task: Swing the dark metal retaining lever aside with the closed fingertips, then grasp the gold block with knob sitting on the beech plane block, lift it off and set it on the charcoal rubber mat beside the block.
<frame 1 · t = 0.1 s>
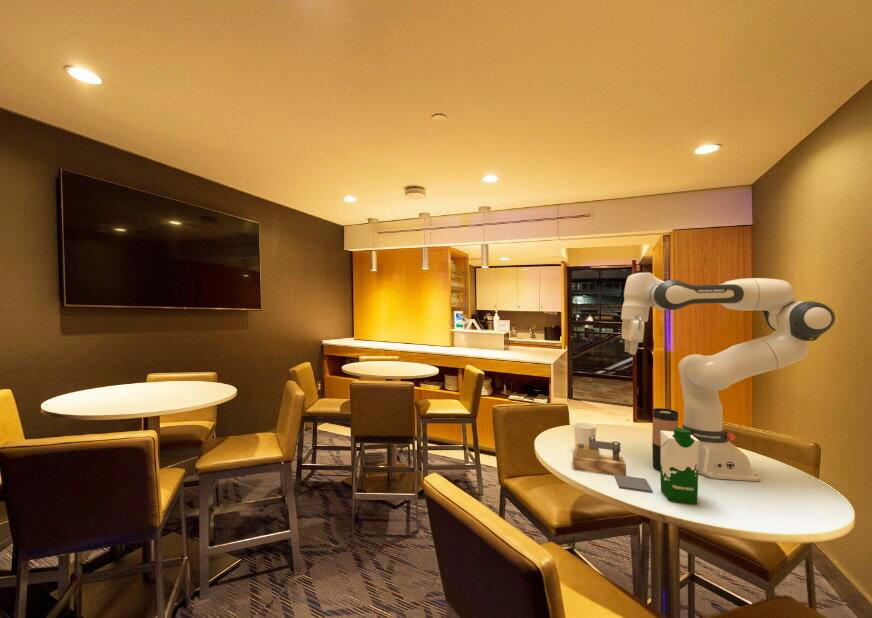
hand: (629, 353, 140), 39 cm above the table, tool pointing down, fingers open, 8 cm apart
milk carton: (678, 498, 110), on the table
lever: (604, 444, 129), point 9 cm above the table, hinge at 0.0°
white cup: (584, 451, 147), on the table
gold block with knob: (587, 456, 131), point 4 cm above the table, touching plane body
rubber mat: (632, 484, 118), on the table
plane body: (598, 469, 129), on the table
travel mug: (664, 469, 131), on the table
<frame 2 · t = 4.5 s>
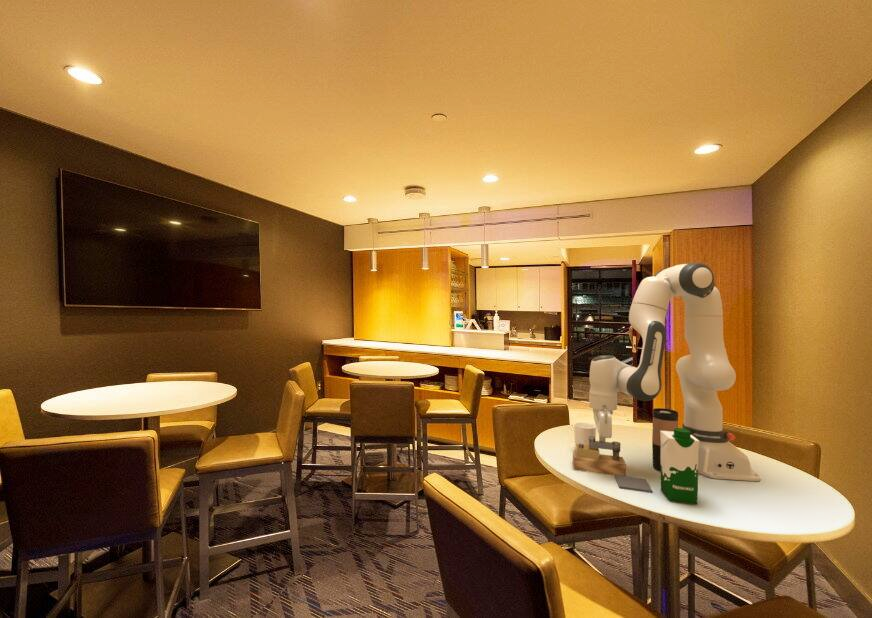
hand: (602, 443, 131), 8 cm above the table, tool pointing down, fingers closed, pressing on lever
lever: (604, 444, 129), point 9 cm above the table, hinge at 0.7°, touching gripper
everything else where it was.
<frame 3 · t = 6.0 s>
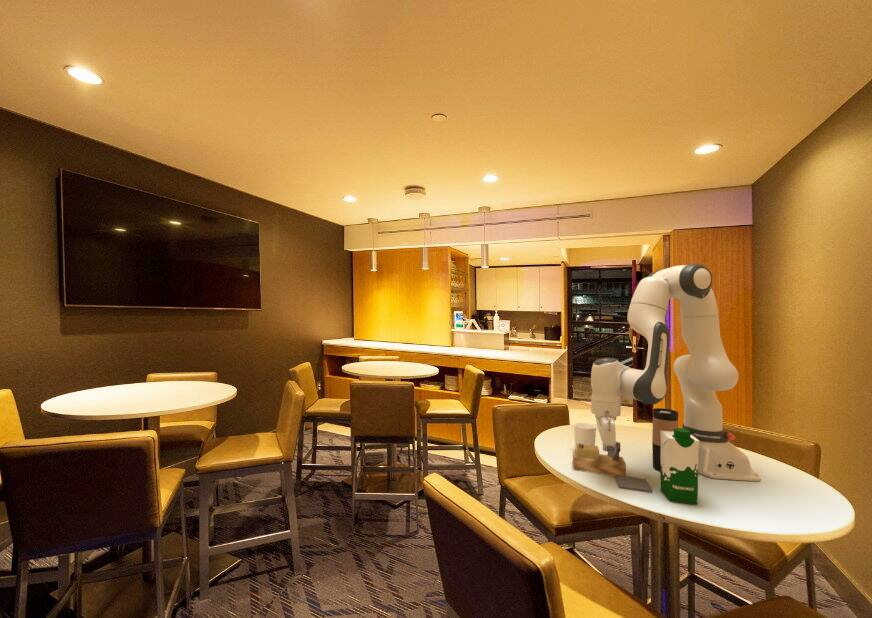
hand: (605, 450, 124), 8 cm above the table, tool pointing down, fingers closed, pressing on lever
lever: (613, 448, 125), point 9 cm above the table, hinge at 70.2°, touching gripper
everything else where it was.
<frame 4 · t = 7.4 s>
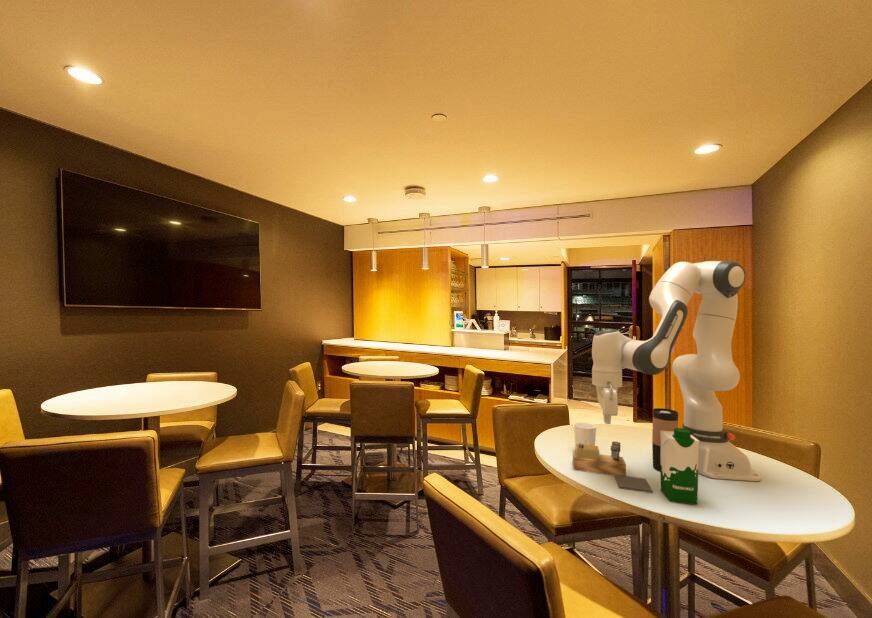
hand: (607, 422, 123), 18 cm above the table, tool pointing down, fingers closed
lever: (615, 448, 125), point 9 cm above the table, hinge at 77.3°
everything else where it was.
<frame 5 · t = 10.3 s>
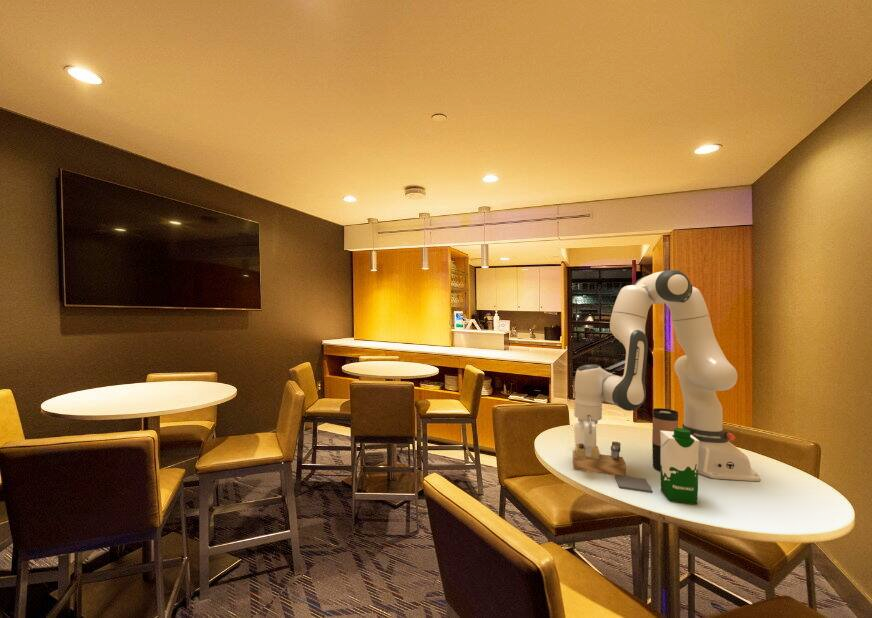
hand: (587, 452, 131), 5 cm above the table, tool pointing down, fingers closed on gold block with knob, 5 cm apart
gold block with knob: (587, 456, 131), point 4 cm above the table, touching gripper, plane body
everything else where it was.
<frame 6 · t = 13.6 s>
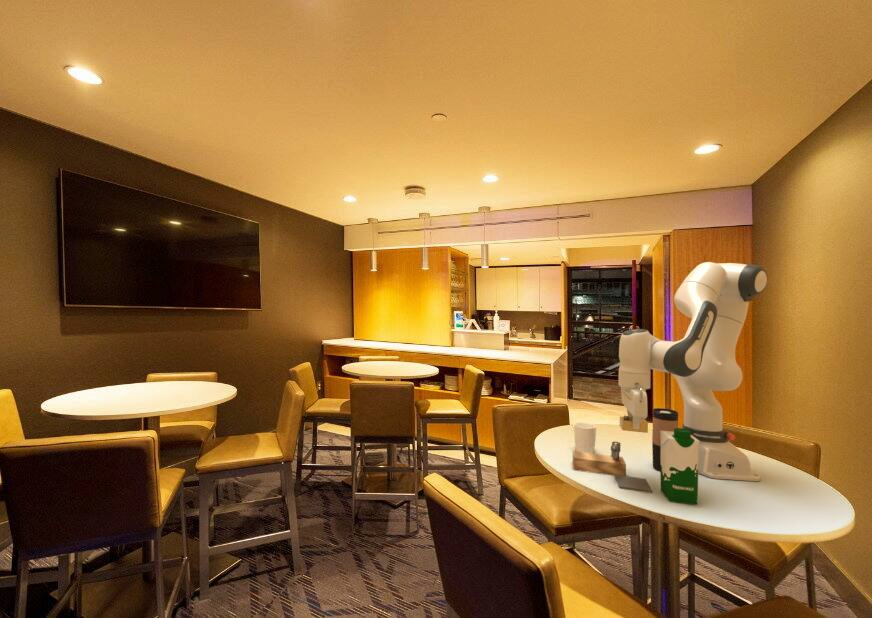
hand: (633, 425, 118), 18 cm above the table, tool pointing down, fingers closed on gold block with knob, 5 cm apart
gold block with knob: (633, 429, 118), point 17 cm above the table, touching gripper
everything else where it was.
when the fingers open (4 cm above the table, at t = 16.5 s): gold block with knob drops 2 cm, resting on rubber mat.
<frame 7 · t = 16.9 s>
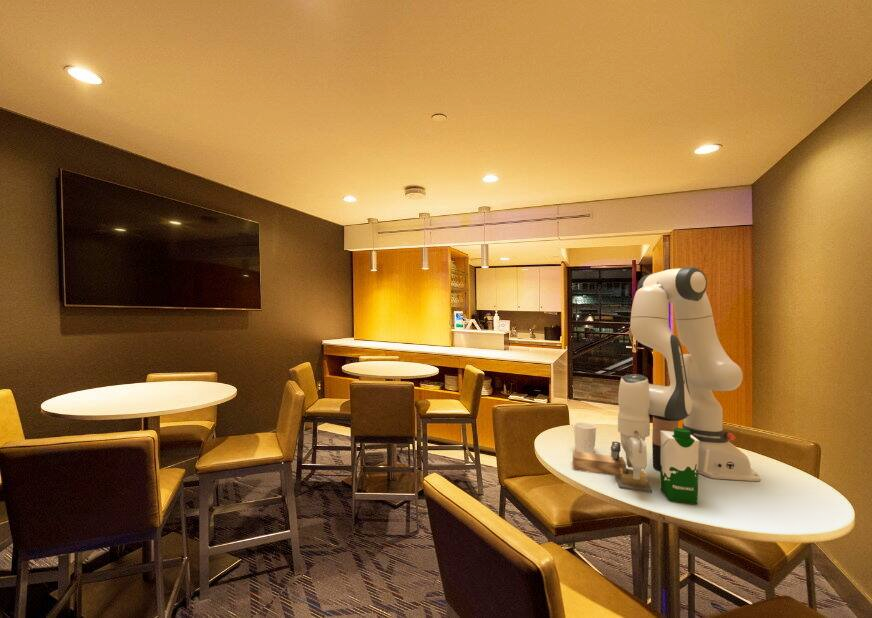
hand: (632, 472, 118), 4 cm above the table, tool pointing down, fingers open, 8 cm apart
gold block with knob: (632, 482, 118), point 1 cm above the table, touching rubber mat
everything else where it was.
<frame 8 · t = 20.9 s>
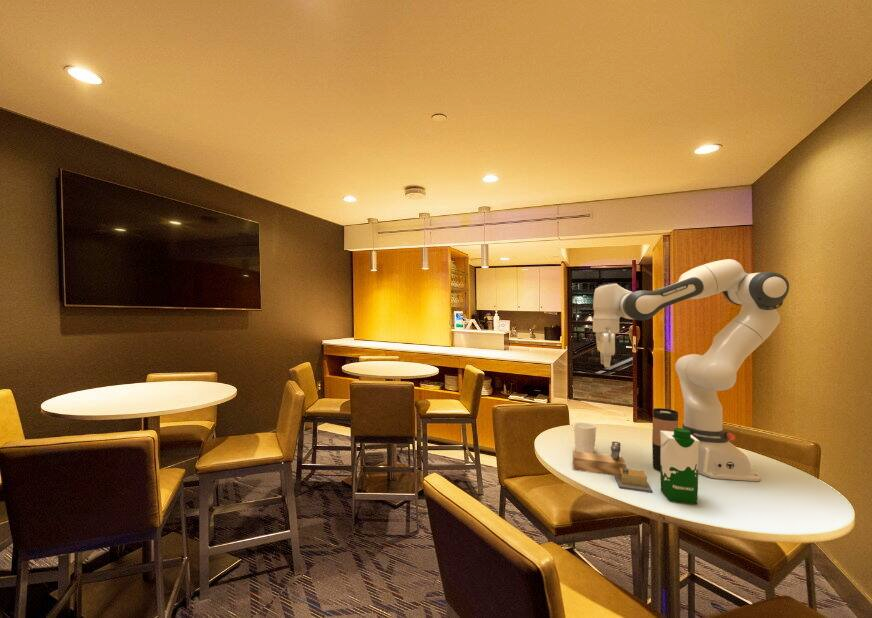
hand: (605, 365, 139), 34 cm above the table, tool pointing down, fingers open, 8 cm apart
nothing on the table moved.
at the end: lever at +78° (first picture: +0°); gold block with knob inside the target area on the rubber mat (0.1 cm from its centre), point 0.6 cm above the rubber mat's base; gold block with knob touching rubber mat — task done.
